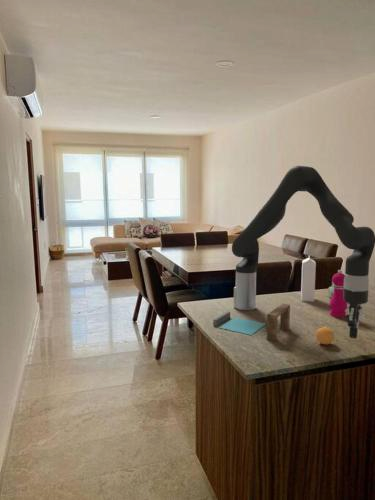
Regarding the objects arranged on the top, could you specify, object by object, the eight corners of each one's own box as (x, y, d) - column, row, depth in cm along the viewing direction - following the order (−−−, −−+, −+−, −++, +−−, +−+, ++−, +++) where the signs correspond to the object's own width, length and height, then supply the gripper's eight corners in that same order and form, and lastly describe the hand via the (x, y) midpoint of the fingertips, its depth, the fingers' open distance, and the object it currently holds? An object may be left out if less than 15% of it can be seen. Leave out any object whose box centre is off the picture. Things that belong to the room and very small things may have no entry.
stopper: (213, 325, 151) (213, 319, 150) (227, 317, 160) (227, 311, 160) (215, 326, 150) (215, 320, 150) (230, 317, 160) (230, 312, 159)
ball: (313, 344, 131) (314, 328, 130) (318, 339, 136) (319, 323, 135) (331, 348, 128) (332, 332, 127) (335, 342, 133) (336, 326, 132)
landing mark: (218, 327, 148) (218, 327, 148) (235, 317, 160) (235, 317, 160) (251, 335, 140) (251, 334, 140) (266, 324, 152) (266, 323, 152)
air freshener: (327, 295, 192) (328, 276, 190) (344, 295, 190) (345, 276, 189) (331, 301, 181) (332, 281, 180) (349, 302, 180) (350, 281, 178)
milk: (301, 301, 182) (302, 256, 179) (300, 297, 188) (302, 254, 185) (314, 301, 181) (316, 256, 177) (313, 298, 187) (315, 254, 183)
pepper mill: (325, 312, 165) (328, 268, 161) (341, 312, 165) (344, 267, 162) (333, 318, 158) (336, 271, 154) (350, 317, 158) (352, 271, 155)
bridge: (266, 339, 136) (267, 314, 135) (281, 326, 148) (282, 303, 147) (274, 341, 135) (275, 315, 133) (289, 328, 147) (290, 304, 145)
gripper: (348, 281, 131) (345, 329, 133) (339, 290, 120) (336, 341, 123) (371, 284, 127) (368, 333, 129) (364, 293, 116) (361, 346, 118)
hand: (353, 337), depth 126 cm, fingers closed
